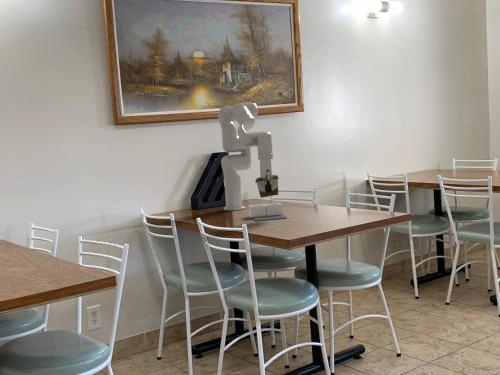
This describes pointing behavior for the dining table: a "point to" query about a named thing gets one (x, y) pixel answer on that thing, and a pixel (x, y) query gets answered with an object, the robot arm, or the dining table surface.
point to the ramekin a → (257, 210)
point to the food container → (262, 184)
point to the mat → (269, 217)
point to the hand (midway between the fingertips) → (267, 191)
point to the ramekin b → (273, 209)
